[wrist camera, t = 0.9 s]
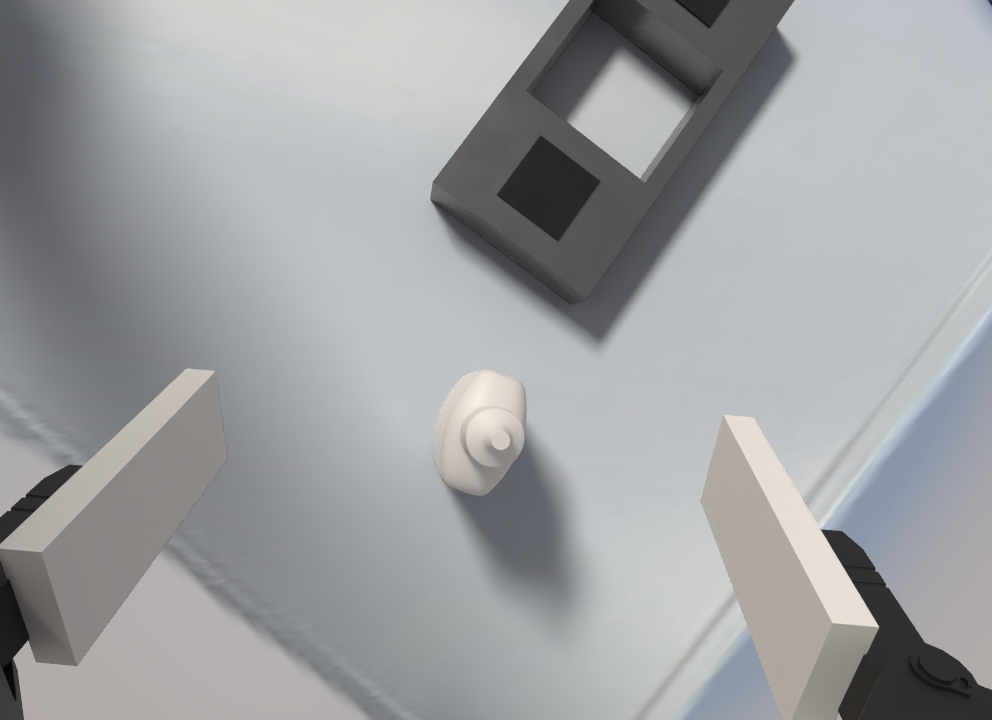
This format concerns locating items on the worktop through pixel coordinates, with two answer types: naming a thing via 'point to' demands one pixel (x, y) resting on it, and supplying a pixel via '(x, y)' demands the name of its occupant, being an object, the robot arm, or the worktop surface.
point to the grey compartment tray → (578, 161)
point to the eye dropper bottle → (480, 431)
